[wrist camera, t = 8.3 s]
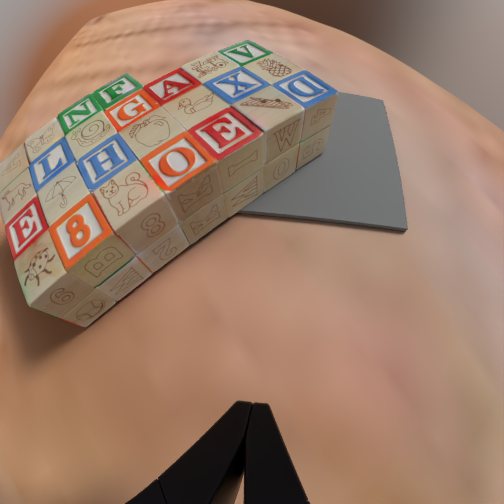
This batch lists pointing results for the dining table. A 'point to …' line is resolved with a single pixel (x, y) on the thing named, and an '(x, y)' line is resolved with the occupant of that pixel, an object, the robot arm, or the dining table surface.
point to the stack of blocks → (153, 172)
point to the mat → (345, 174)
